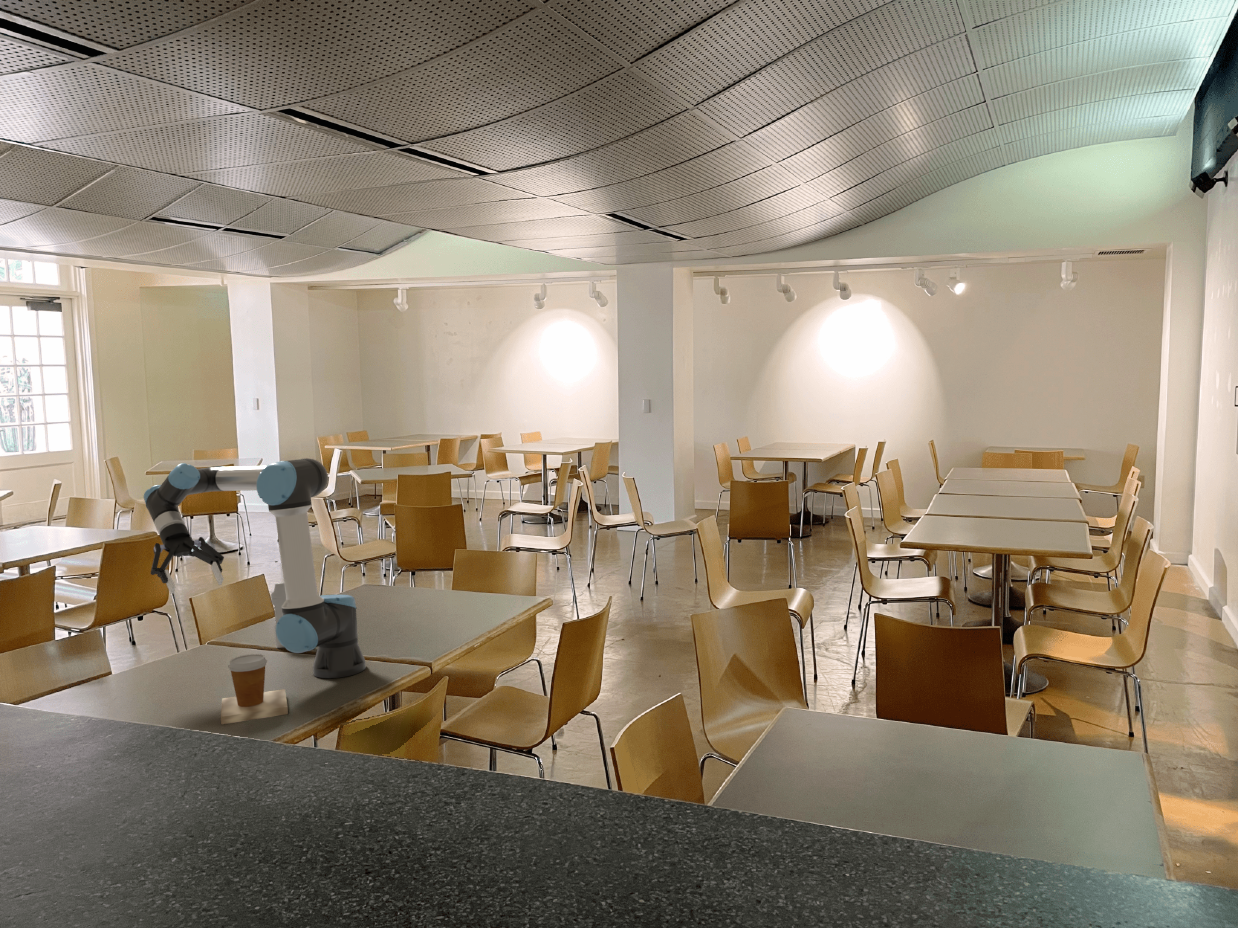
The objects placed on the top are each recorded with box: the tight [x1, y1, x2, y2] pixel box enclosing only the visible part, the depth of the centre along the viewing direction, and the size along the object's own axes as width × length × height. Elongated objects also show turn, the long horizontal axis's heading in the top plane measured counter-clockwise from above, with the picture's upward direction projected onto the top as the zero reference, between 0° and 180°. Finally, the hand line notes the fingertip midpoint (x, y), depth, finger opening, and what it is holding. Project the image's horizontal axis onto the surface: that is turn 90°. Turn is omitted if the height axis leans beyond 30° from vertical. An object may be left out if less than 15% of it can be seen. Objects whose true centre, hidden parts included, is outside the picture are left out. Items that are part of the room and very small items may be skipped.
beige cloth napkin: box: [220, 688, 289, 726], centre depth 243 cm, size 16×16×2 cm
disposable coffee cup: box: [228, 653, 268, 707], centre depth 242 cm, size 10×10×12 cm
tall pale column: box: [270, 581, 286, 649], centre depth 305 cm, size 11×4×22 cm, turn 108°
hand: (197, 586), depth 262 cm, fingers open, 13 cm apart
